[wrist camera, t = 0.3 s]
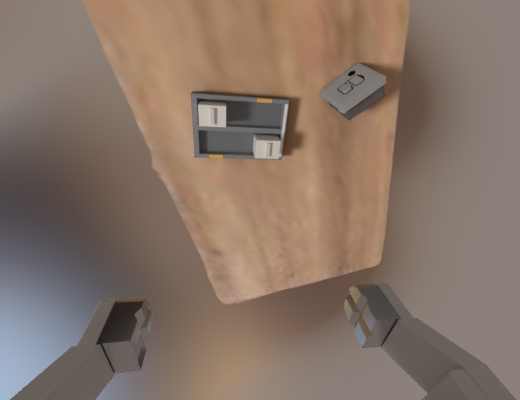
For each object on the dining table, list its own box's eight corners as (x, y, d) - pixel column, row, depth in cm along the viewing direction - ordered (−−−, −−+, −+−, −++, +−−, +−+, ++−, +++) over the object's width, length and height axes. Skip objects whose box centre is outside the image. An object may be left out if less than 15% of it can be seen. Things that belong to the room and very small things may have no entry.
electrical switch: (357, 61, 48) (385, 67, 40) (365, 84, 51) (393, 93, 43) (317, 92, 50) (337, 103, 42) (327, 112, 53) (348, 125, 45)
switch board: (192, 91, 47) (190, 93, 44) (286, 98, 49) (289, 100, 47) (195, 153, 53) (194, 157, 51) (279, 155, 56) (281, 159, 54)
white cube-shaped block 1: (200, 100, 46) (197, 105, 42) (225, 102, 47) (226, 106, 43) (200, 120, 48) (198, 126, 44) (225, 121, 49) (226, 128, 45)
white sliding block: (253, 133, 51) (256, 140, 47) (276, 134, 52) (281, 141, 48) (252, 150, 53) (255, 159, 49) (274, 151, 54) (279, 159, 50)
